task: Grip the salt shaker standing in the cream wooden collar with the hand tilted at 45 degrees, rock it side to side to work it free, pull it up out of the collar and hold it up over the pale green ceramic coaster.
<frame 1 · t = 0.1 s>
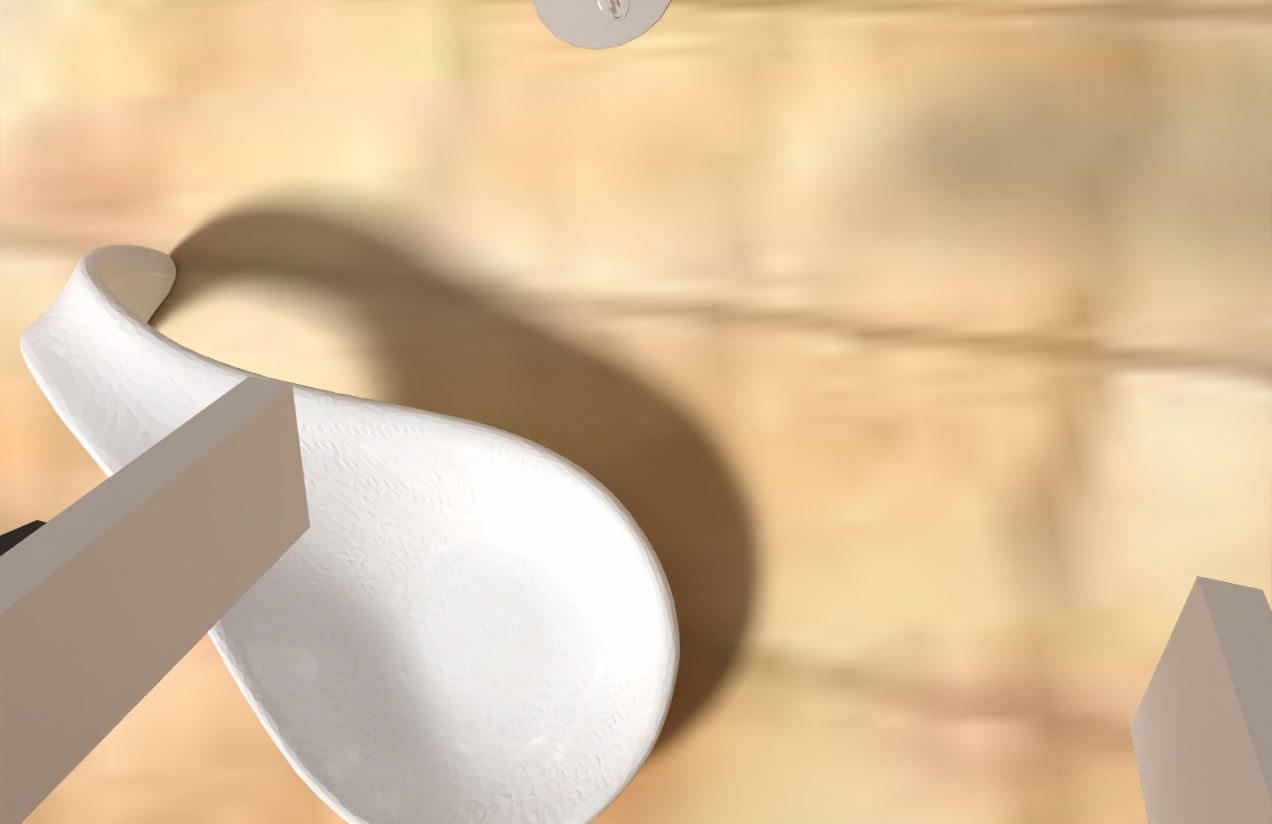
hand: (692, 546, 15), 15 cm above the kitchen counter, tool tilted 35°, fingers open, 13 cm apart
spoon rest: (371, 516, 33), on the kitchen counter
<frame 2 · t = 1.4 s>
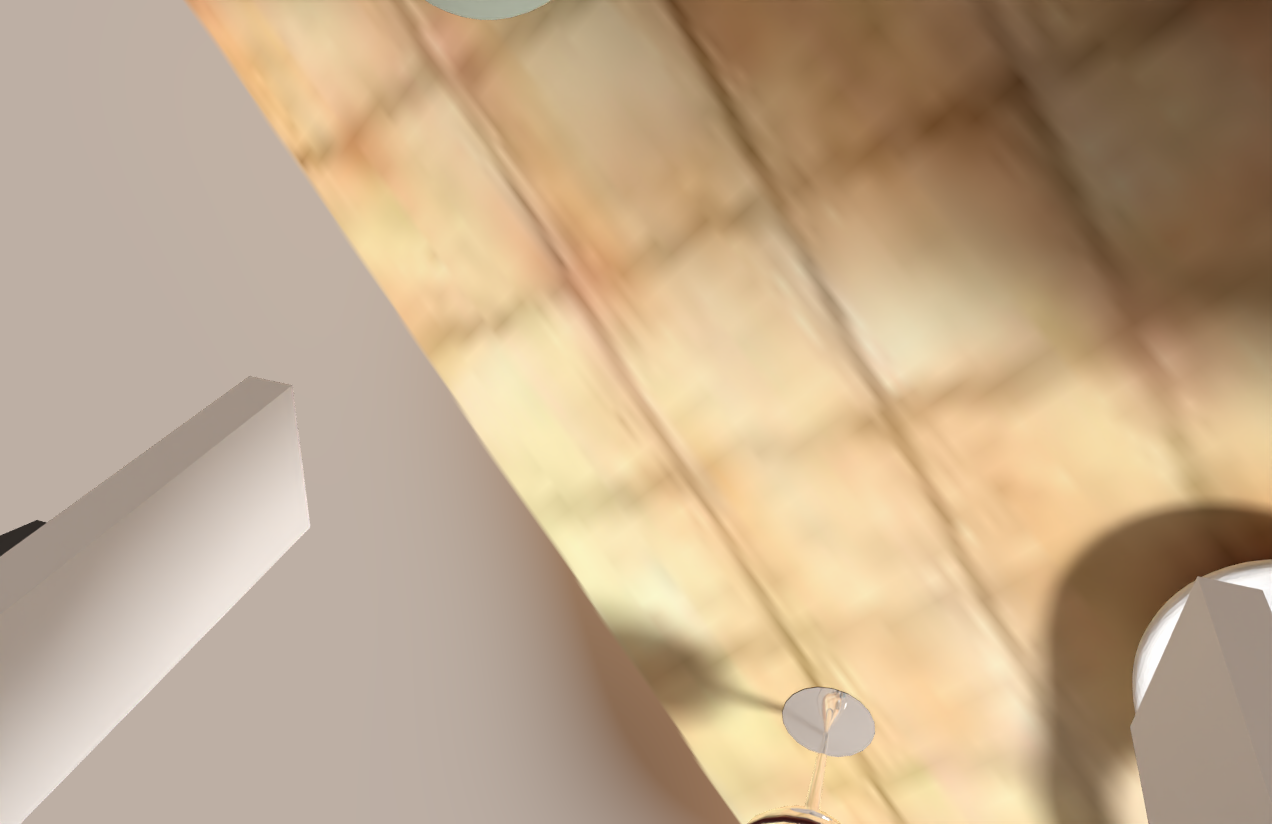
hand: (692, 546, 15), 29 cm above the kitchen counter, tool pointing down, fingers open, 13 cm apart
spoon rest: (1236, 725, 47), on the kitchen counter
wineglass: (828, 720, 54), on the kitchen counter
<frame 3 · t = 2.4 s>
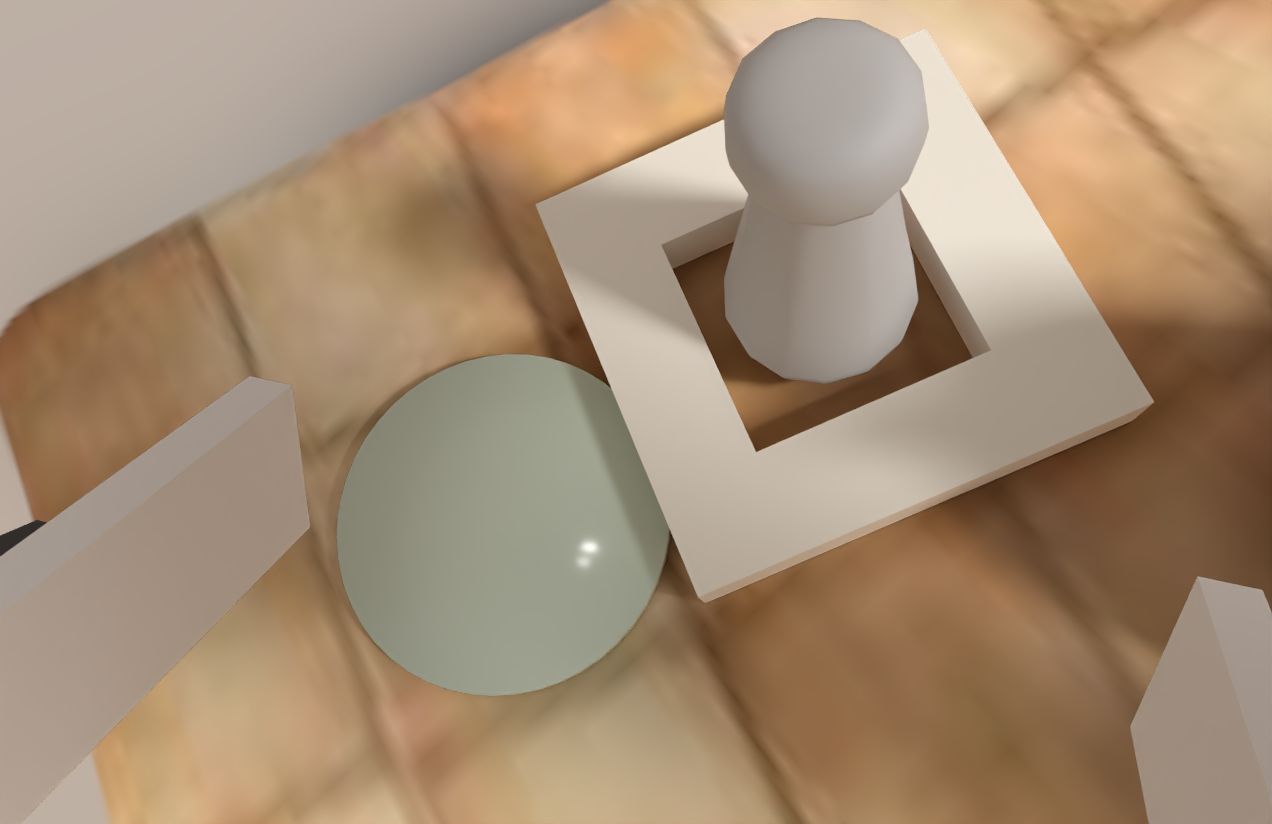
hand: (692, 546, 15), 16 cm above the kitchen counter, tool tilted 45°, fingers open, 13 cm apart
salt shaker: (818, 321, 32), resting in collar
collar: (818, 318, 32), on the kitchen counter
coaster: (504, 519, 32), on the kitchen counter
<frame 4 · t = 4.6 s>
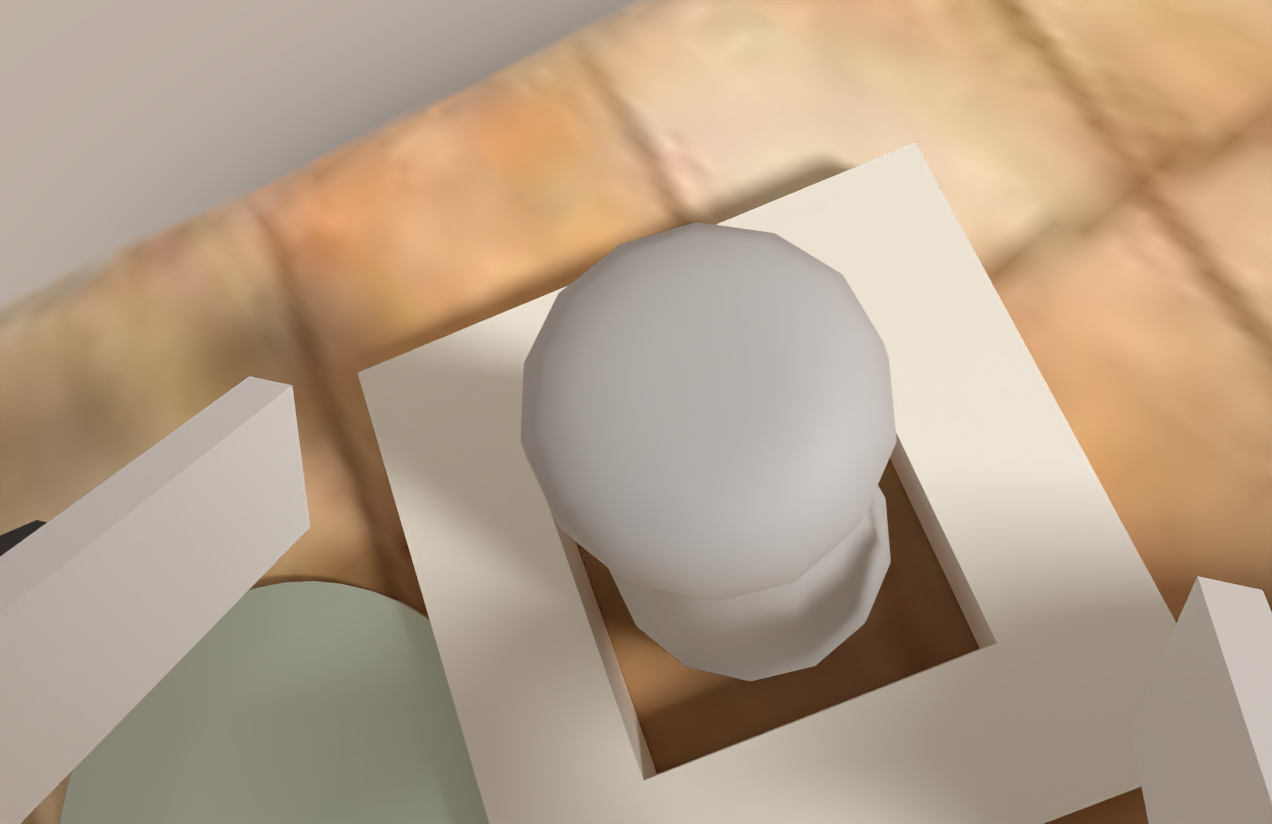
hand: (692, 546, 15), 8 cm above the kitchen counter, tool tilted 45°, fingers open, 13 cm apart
salt shaker: (751, 552, 23), resting in collar
collar: (751, 551, 23), on the kitchen counter
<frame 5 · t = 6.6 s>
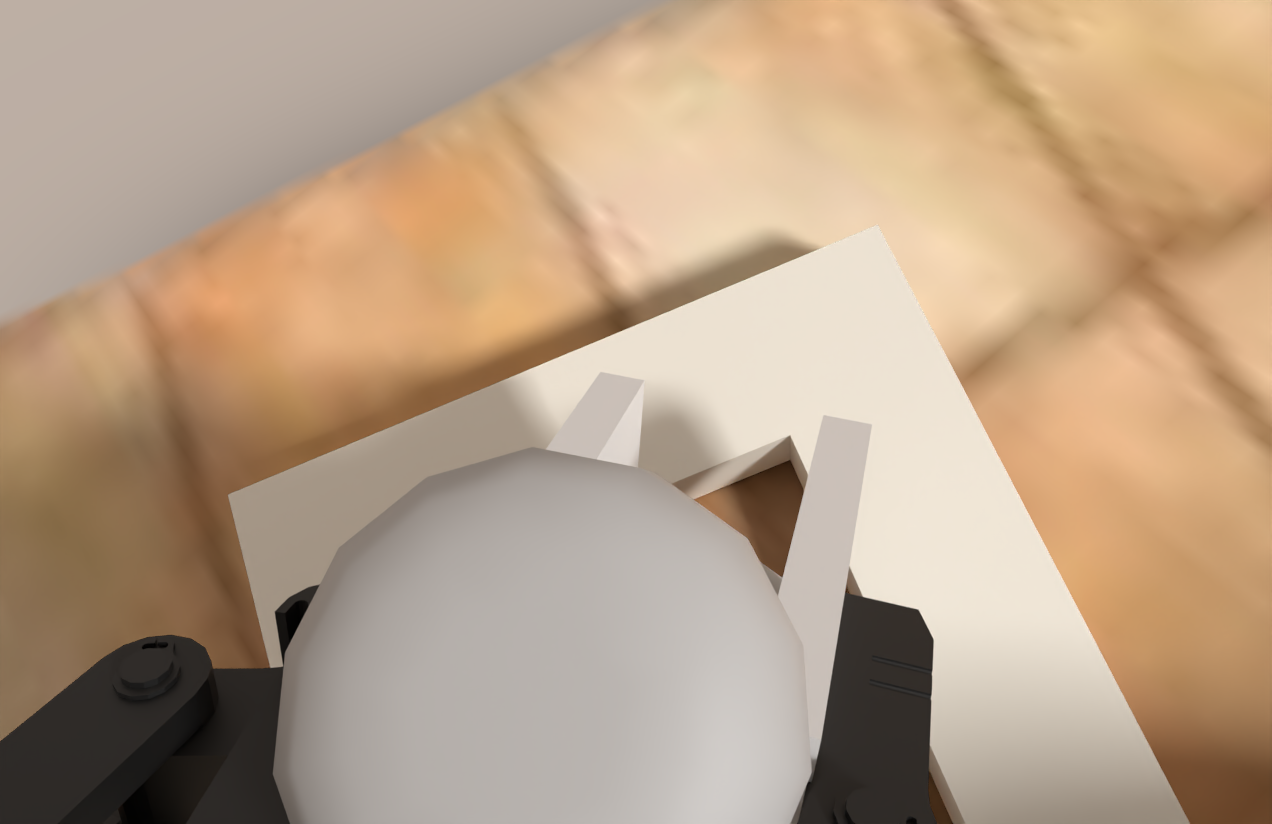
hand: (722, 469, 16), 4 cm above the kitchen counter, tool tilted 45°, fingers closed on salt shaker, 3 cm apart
salt shaker: (690, 704, 20), resting in collar, touching gripper
collar: (688, 704, 19), on the kitchen counter
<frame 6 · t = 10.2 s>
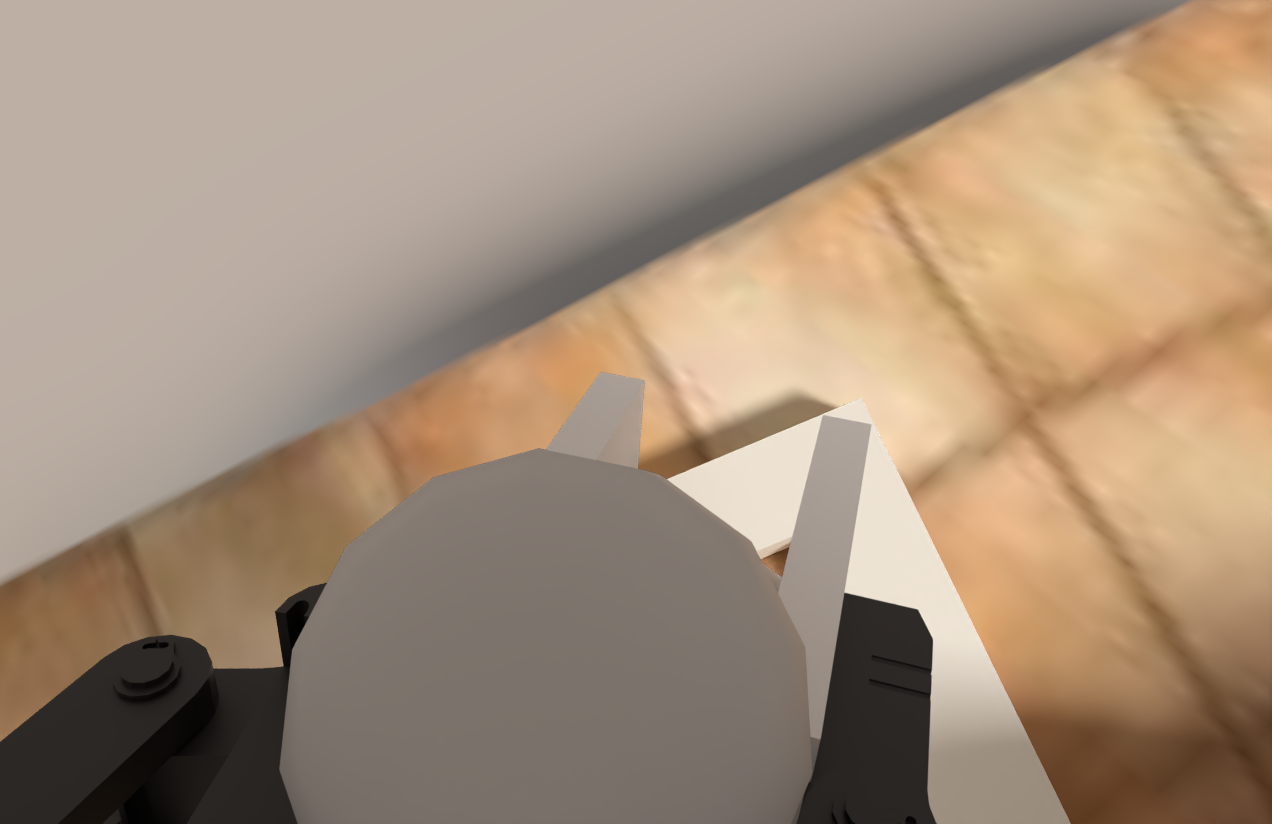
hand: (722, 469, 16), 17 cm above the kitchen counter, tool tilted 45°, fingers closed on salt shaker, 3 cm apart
salt shaker: (690, 703, 20), point 13 cm above the kitchen counter, touching gripper
collar: (748, 691, 32), on the kitchen counter
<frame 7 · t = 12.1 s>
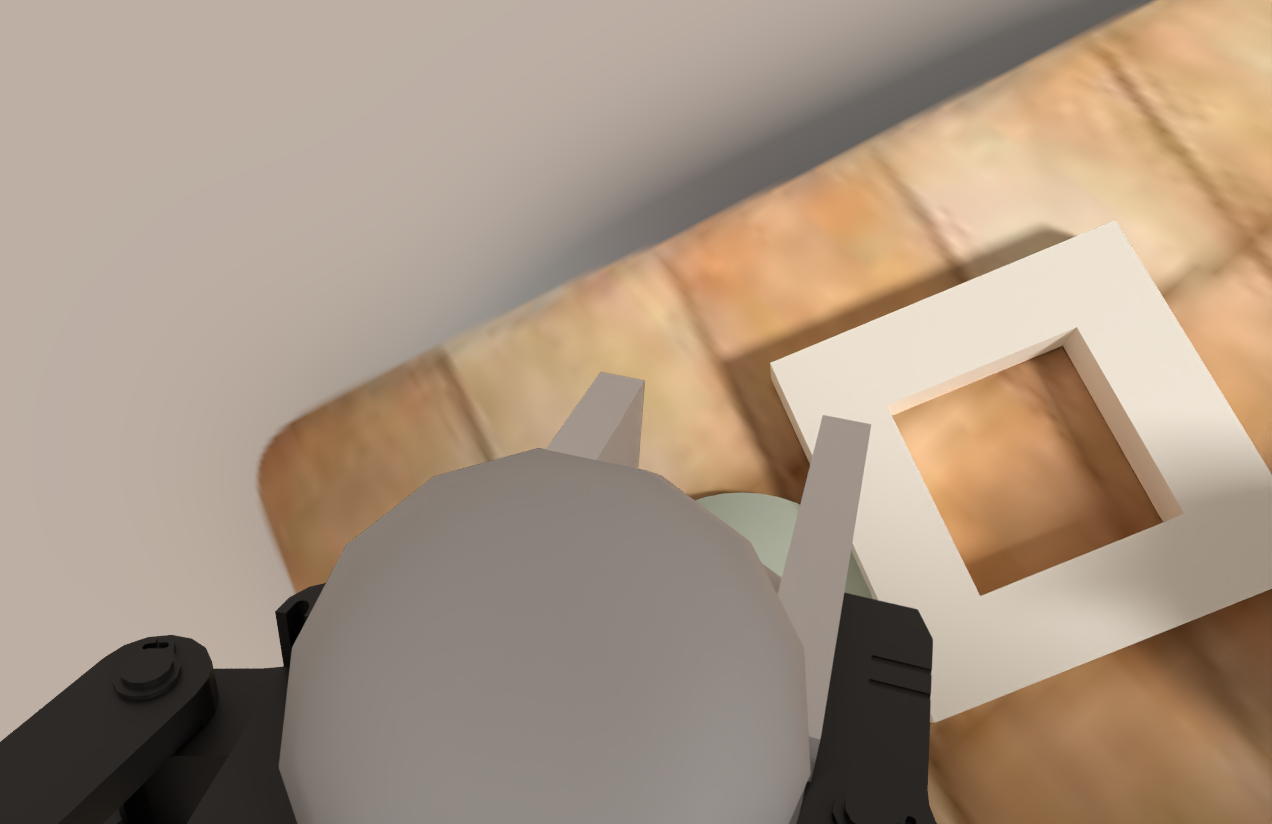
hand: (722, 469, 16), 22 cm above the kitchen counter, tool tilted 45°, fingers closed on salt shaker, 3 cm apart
salt shaker: (689, 703, 20), point 18 cm above the kitchen counter, touching gripper
collar: (1017, 469, 37), on the kitchen counter
coaster: (742, 640, 37), on the kitchen counter
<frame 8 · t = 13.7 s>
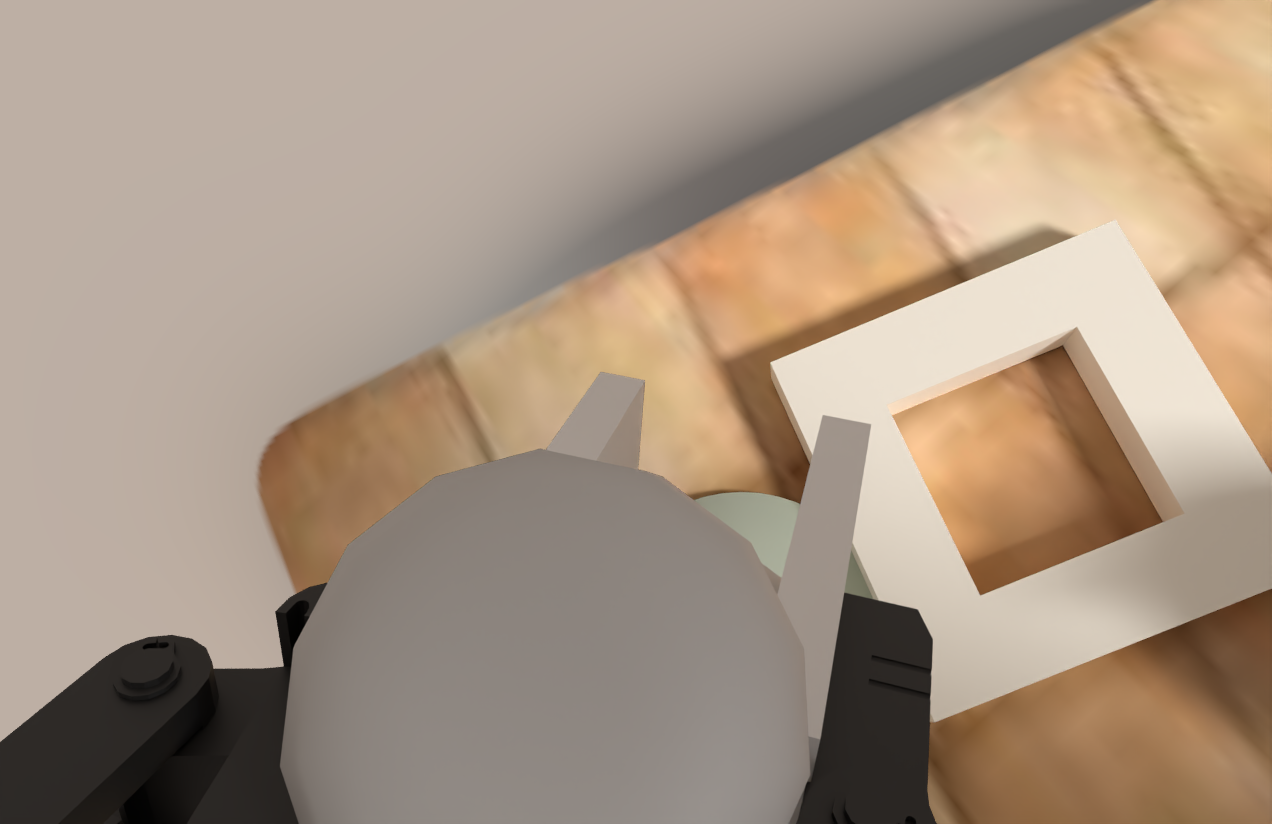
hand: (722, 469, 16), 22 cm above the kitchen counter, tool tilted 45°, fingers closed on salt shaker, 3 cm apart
salt shaker: (689, 703, 20), point 18 cm above the kitchen counter, touching gripper
collar: (1017, 469, 37), on the kitchen counter
coaster: (742, 639, 37), on the kitchen counter
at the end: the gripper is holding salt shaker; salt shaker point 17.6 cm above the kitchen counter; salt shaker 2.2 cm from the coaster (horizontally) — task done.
